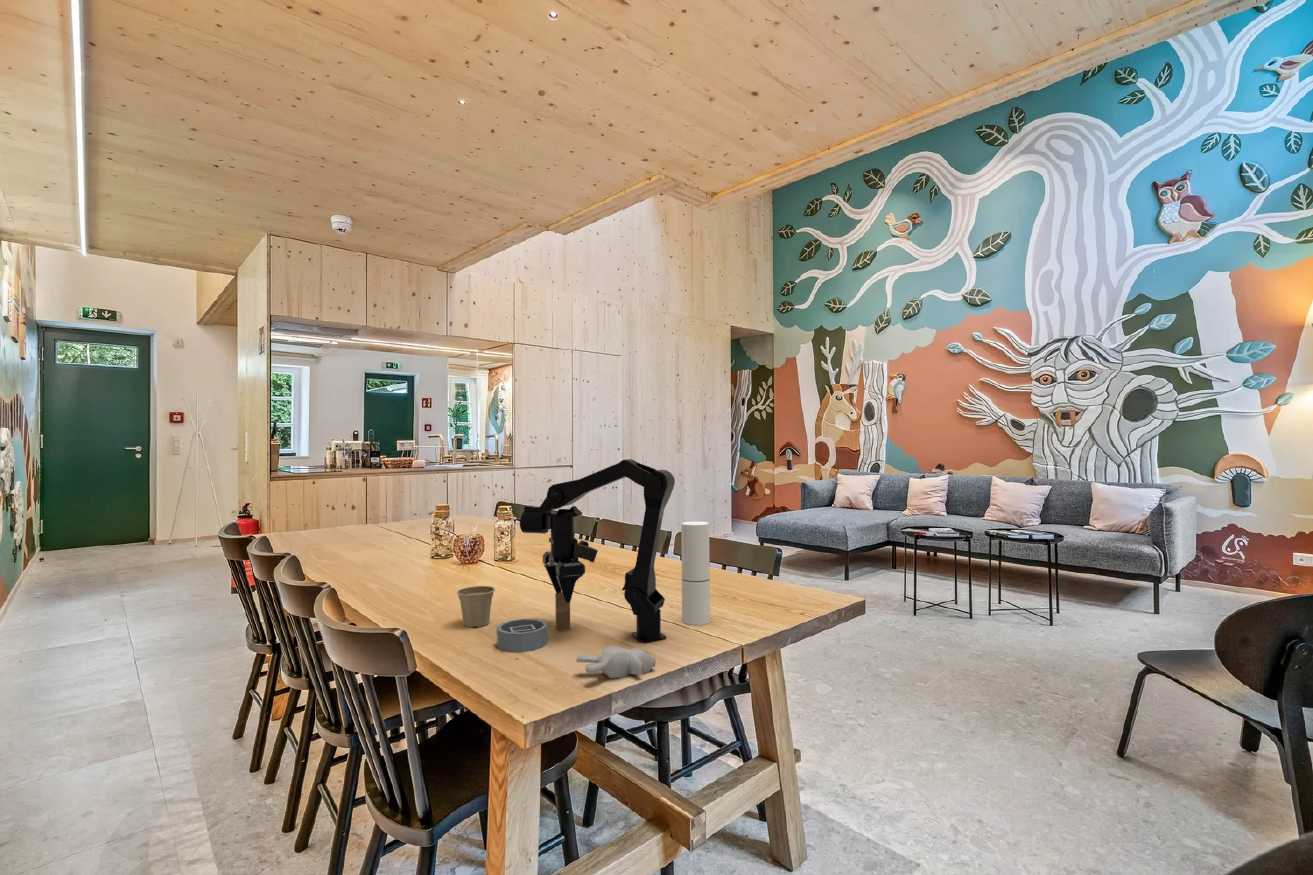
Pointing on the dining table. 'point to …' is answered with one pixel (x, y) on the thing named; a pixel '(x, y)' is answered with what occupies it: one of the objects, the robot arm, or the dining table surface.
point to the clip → (522, 628)
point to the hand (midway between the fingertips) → (563, 597)
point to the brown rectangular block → (562, 613)
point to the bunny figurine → (619, 662)
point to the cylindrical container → (695, 573)
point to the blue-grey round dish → (522, 636)
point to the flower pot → (476, 605)
